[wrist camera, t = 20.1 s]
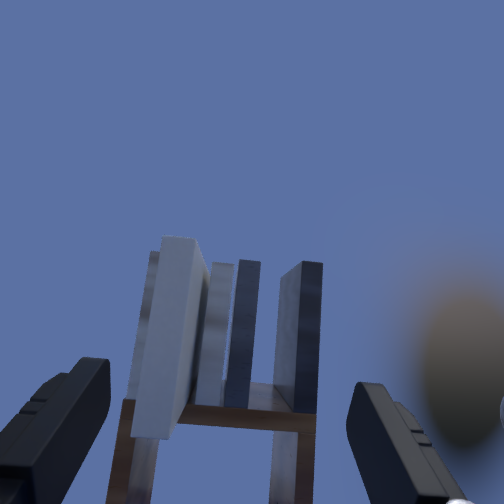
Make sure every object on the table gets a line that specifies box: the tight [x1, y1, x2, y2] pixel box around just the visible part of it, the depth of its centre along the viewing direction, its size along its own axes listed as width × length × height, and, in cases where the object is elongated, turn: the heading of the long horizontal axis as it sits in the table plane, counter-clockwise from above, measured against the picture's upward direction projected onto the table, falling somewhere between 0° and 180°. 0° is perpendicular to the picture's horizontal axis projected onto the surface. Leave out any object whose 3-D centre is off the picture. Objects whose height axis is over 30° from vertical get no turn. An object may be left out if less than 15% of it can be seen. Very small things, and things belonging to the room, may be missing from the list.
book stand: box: [105, 251, 323, 504], centre depth 30 cm, size 12×16×43 cm
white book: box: [131, 235, 210, 440], centre depth 29 cm, size 20×2×12 cm, turn 5°
